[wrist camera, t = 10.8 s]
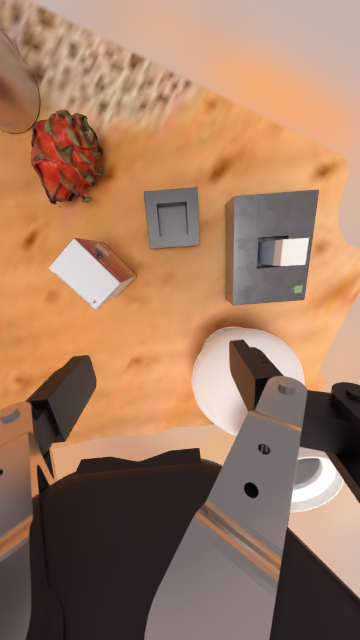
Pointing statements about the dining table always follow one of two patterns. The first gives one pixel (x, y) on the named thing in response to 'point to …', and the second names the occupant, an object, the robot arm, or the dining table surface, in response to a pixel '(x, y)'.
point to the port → (262, 226)
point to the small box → (92, 271)
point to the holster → (172, 217)
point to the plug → (283, 252)
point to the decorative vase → (230, 411)
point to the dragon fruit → (65, 155)
